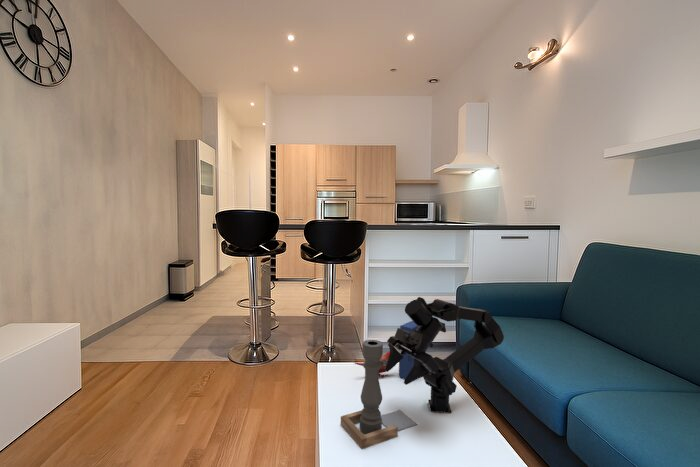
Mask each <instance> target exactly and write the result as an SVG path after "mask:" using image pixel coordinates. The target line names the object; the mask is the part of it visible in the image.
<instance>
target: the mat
mask: <svg viewBox="0 0 700 467" xmlns="http://www.w3.org/2000/svg"><path fill="white" fill-rule="evenodd" d="M381 418H382V426H383V427H384V428H386V427H389V426H392V425H396V426H397V427H398V432H400V431H403V430H405V429H409V428H412V427H414V426H418V422H416V421H415V420H414V419H413V418H411V417H410V416H409V415H407V414H406V413H405V412H404V411H402V410H401V409H398V410H397V409H396V410H395V411H391V412H388V413H385V414H381Z"/></svg>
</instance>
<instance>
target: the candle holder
mask: <svg viewBox="0 0 700 467" xmlns="http://www.w3.org/2000/svg"><path fill="white" fill-rule="evenodd" d="M361 345H362V347H361V348H362V349H361V350H362V351H361V354H362V356H363V359H364V362H362V363H363V366H362V367H363V369H364V380H363V385H362V390H361V393H360V402H361V403H362V404H361V405H363V408H362V409H361V410H362V411H361V410H360V411H361V417H360V422H359V430H360V431H361V432H362V433H363V434H364V435H365V434H368V433H371V432H374V431H377V430H380V429H383V424H382V418H381V415H382V413H381V410H380V405H381V403H382V401H383V394H382V393H383V392H382V389H381V385H380V380H379V369H380V368H381V363H380V362H379V361H380V359H381V357H382V356H384V354H383V353H384V351H383V349H384V346H383V345H384V344H383V342H382V341H380V340H377V339H366V340H364V341H362V344H361Z"/></svg>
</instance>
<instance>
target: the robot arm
mask: <svg viewBox="0 0 700 467" xmlns="http://www.w3.org/2000/svg"><path fill="white" fill-rule="evenodd" d="M404 312H405V314H406V315H407V317H409V318H410V320H411V321H413V322H414V323H415V324H416V325H418V326H419V327H418V329H417V330H414V329H413V330H412V331H411V332H407V331H405V330H402V329H400V327H397V329H396V332H395V334H394V335H392V336H390V337H389V338H388V339H387V341H386V342H387V343H388V344H387V346H388V347H389V351H390V354H389V358H388V361H387V365H386V368H385V371H386V372H387V373H388V372H389V371H390V370H392V369H393V368H394V367H395V366H396V365H397V364H399V361H400V360H401V359H402V358H403V356H402V355H404V354H408V355H410V356H412V357H414V358H415V359H414V366H413V368H412V369H411V371H410V372H409V374H408V375H407V377H406V379H404V381H403V384H404V385H409V384H411V383H412V382H414V381H417V380H419V379H420V378H423V380H424V383H425V385H428V387H430V399H428V406H429V407H428V408H429V411H430V412H432V413H433V412H434V413H449V414H451V413H452V412H453V410H452V408H451V405H450V396H452V395H453V394H455V393H456V391H457V384H456V383H455V382H454V381H453V380H454V376H455V374H456V372H457V371H459V370H460V369H461V368H462V367H463V366H465V365H467V363H469V362H470V361H471V360H473V359H474V358H475V357H476V356H478V355H479V354H481V352H483V351H484V350H490V349H495V348H497V347H498V346H500V345H501V344H502V343H503V341H504V340H505V336H504V333H503V331H502V328H501V326H500V325H499V324H498V323H497V322H496V320H495V319H494V317H493V316H492V314H491V312H490V311H488V310H485V309H482V308H474V307H473V308H472V307H465V306H461V305H460V306H459V305H457V304H454V303H452V302H449V301H445V300H442V299H439V298H436V299H433V301H432V302H429V303H427V301H426V299H425V298H424V297H421V296H418V297H417V298H416V299H413V300H411V301H409V302H408V303H407V304H406V305H405V307H404ZM439 319H440V320H439ZM441 320H443V321H445V322H454V321H457V320H466V321H472V322H473V321H474V324H473V327H474V333H473V337H472V338H471V339H469V340H468V341H466V342H465V343H464V344H463V345H461V346H460V347H459V348H457V349H456V350H454V351H453V352H452V353H451V354H449V355H447V357H445V358H443V359H442V358H440V357H438V356H435V357H433V356H432V354H429V353H427V350H428V349H429V347H430V348H431V349H432V348H433V347H434V343H433V341H434V340H435V338H437V336H438V335H439V333H440V332H442V333H446V332H447V329H446V323H445V322H441ZM409 351H410V352H409ZM415 354H416V355H415Z"/></svg>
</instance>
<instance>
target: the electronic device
mask: <svg viewBox="0 0 700 467" xmlns="http://www.w3.org/2000/svg"><path fill="white" fill-rule="evenodd" d="M418 327H419V326H418V325H416V324H415V323H414V322H413V321H412V320H411V321H408V322H406V323H403V324H402V325H400V326H399V328H400V329H402V330H405V331H407V332H411V331H412V330H413V329H414V330H417V329H418ZM409 352H410V351H409ZM415 355H416V354H415ZM402 356H403V358H402V359H401V360H400V361H399V362H398V376H399V378H400V379H403V380H405V379H406V377H407V375H408V374H409V372H410V371H411V369H412V368H413V366H414V359H415V358H414V357H412V356H410V355H408V354H404V355H402Z"/></svg>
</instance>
